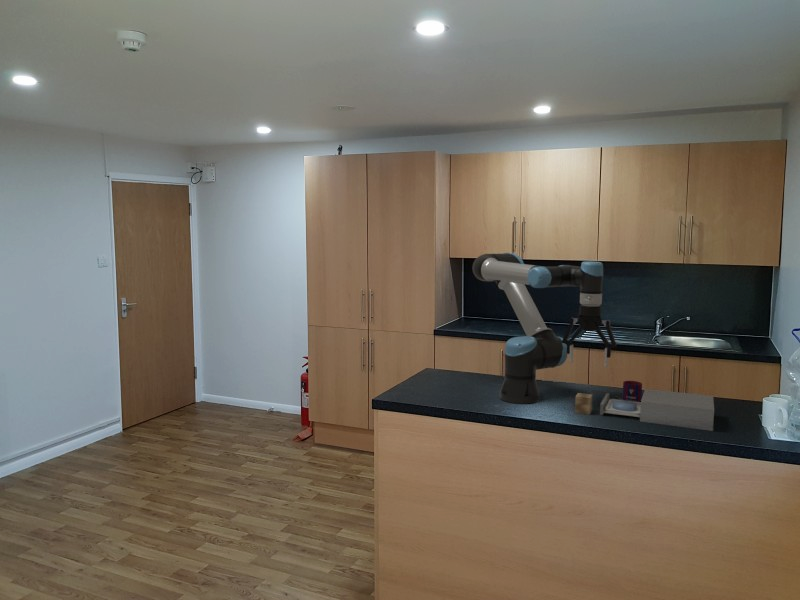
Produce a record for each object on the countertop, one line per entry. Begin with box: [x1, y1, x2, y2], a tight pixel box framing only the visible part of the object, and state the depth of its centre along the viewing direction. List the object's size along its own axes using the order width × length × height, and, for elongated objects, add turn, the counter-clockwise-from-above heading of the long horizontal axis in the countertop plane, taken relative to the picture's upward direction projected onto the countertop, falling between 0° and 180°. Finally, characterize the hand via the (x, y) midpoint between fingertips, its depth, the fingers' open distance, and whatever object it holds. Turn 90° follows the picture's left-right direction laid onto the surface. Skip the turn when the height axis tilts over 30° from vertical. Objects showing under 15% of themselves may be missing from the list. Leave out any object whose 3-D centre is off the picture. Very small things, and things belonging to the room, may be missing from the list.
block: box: [574, 392, 593, 416], centre depth 215 cm, size 5×5×6 cm
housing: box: [639, 388, 715, 432], centre depth 207 cm, size 22×18×7 cm
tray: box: [599, 392, 641, 418], centre depth 214 cm, size 18×16×4 cm
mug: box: [622, 380, 643, 402], centre depth 231 cm, size 7×10×7 cm
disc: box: [612, 399, 636, 411], centre depth 215 cm, size 8×8×2 cm
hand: (587, 364), depth 219 cm, fingers open, 11 cm apart
